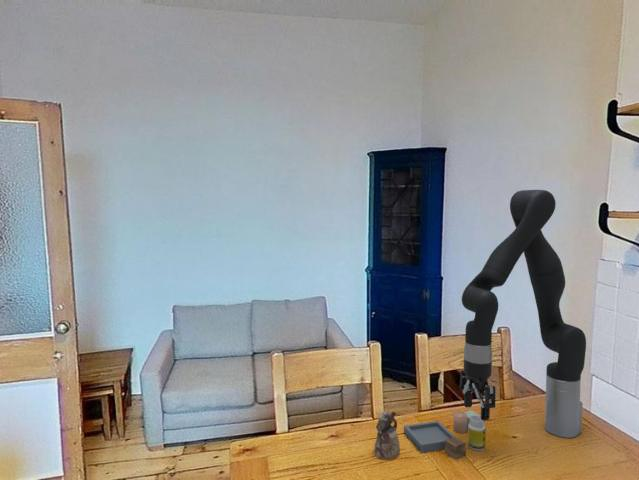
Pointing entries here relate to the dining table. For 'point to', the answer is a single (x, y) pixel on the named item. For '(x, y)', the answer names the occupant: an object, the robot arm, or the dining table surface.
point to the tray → (428, 435)
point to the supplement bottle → (476, 433)
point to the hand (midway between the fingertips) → (476, 413)
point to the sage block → (469, 414)
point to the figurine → (387, 437)
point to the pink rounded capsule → (460, 422)
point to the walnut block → (455, 448)
